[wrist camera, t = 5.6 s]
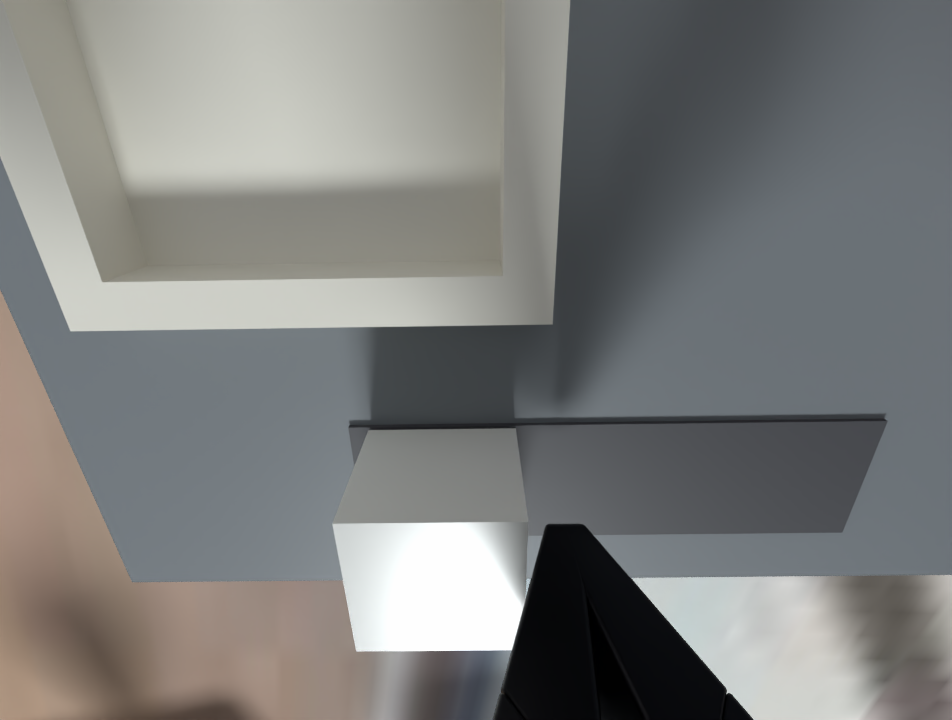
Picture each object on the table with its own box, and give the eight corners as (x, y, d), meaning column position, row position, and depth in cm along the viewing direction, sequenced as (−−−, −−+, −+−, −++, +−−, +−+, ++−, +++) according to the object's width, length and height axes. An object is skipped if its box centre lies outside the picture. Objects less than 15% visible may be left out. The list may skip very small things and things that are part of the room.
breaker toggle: (515, 428, 10) (528, 521, 7) (513, 539, 11) (523, 650, 8) (367, 430, 10) (332, 524, 7) (382, 540, 11) (356, 650, 8)
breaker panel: (1717, -532, 6) (2653, -1044, 3) (1042, 527, 13) (1176, 618, 10) (-219, -472, 6) (-707, -903, 4) (168, 536, 13) (96, 627, 11)
